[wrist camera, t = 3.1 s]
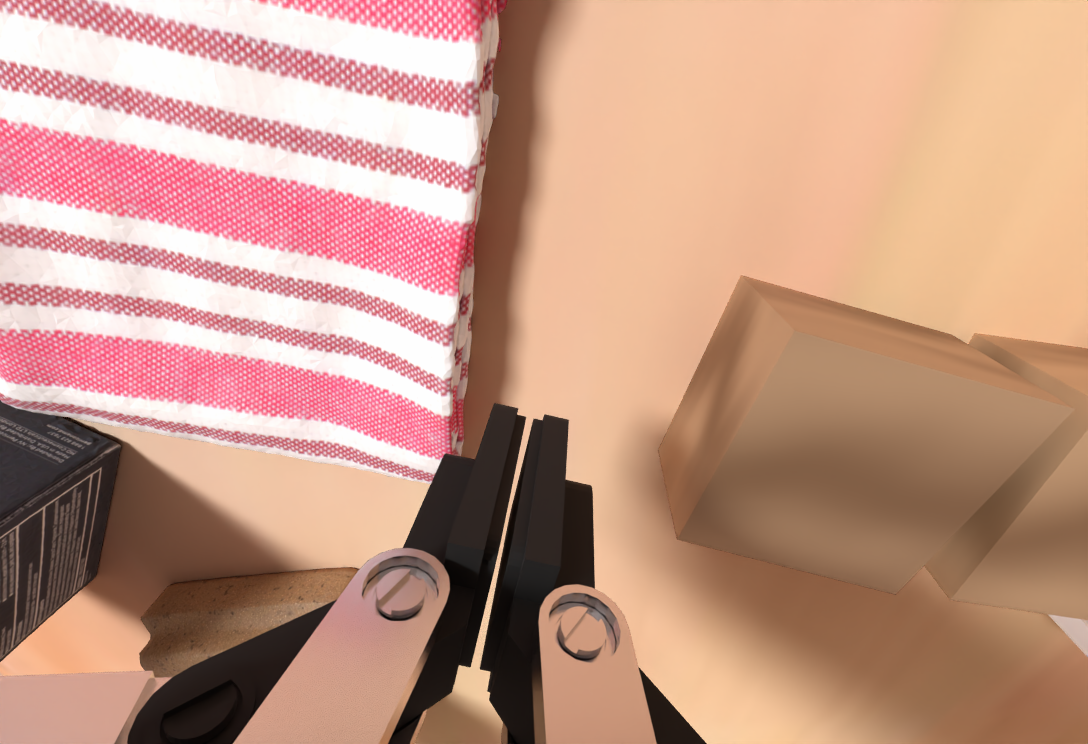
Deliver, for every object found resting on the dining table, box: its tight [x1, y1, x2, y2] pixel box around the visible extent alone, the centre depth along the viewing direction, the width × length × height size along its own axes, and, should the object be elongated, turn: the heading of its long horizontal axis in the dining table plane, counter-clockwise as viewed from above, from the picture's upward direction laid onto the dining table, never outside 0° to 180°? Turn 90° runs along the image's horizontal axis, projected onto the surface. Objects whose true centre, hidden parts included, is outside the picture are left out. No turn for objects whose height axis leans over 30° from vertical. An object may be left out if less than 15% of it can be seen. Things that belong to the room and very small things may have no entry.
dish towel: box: [0, 0, 507, 484], centre depth 13 cm, size 17×23×4 cm
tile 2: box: [924, 333, 1088, 620], centre depth 15 cm, size 7×7×4 cm
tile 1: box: [658, 275, 1075, 595], centre depth 15 cm, size 7×7×4 cm
